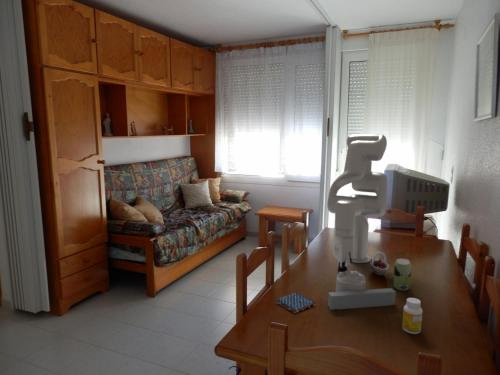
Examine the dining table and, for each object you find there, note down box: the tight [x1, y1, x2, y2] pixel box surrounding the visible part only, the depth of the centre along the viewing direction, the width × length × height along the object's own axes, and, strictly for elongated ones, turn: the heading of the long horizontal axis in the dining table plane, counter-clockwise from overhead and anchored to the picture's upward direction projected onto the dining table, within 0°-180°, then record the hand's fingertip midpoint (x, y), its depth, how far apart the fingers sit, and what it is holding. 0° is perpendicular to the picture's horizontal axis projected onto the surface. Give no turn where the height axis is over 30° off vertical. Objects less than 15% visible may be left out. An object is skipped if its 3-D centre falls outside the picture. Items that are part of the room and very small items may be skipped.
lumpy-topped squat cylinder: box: [335, 269, 367, 292], centre depth 138 cm, size 10×13×9 cm
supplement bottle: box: [401, 297, 423, 335], centre depth 114 cm, size 5×5×10 cm
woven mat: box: [275, 292, 316, 314], centre depth 131 cm, size 10×11×2 cm
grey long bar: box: [327, 287, 397, 311], centre depth 130 cm, size 3×24×5 cm, turn 100°
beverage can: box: [393, 258, 412, 292], centre depth 143 cm, size 6×7×12 cm
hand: (342, 275), depth 146 cm, fingers closed
